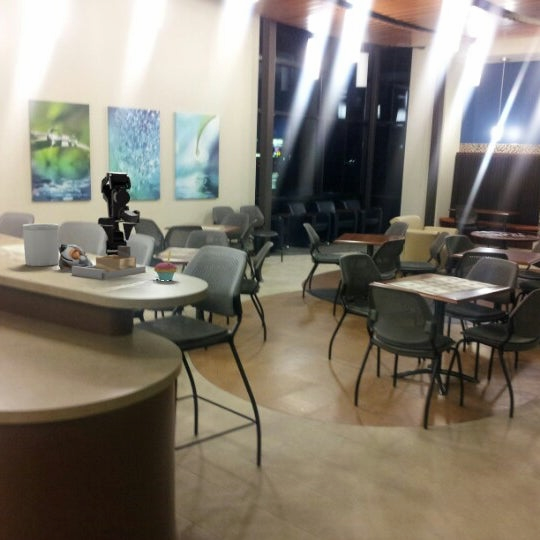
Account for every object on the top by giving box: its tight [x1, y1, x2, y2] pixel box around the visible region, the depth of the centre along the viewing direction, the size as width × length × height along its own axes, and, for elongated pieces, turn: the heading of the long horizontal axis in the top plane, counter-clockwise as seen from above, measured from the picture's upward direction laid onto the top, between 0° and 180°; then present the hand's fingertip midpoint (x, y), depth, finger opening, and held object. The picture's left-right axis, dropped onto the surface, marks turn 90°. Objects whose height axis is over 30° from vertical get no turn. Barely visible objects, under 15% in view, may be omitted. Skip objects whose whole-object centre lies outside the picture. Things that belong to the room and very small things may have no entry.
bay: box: [71, 264, 147, 280], centre depth 233 cm, size 23×17×4 cm
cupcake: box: [153, 249, 178, 282], centre depth 227 cm, size 9×8×12 cm
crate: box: [95, 245, 137, 272], centre depth 236 cm, size 11×12×10 cm
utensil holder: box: [21, 223, 60, 267], centre depth 258 cm, size 15×15×18 cm
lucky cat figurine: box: [58, 243, 93, 271], centre depth 243 cm, size 15×12×14 cm
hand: (119, 241), depth 243 cm, fingers open, 9 cm apart
